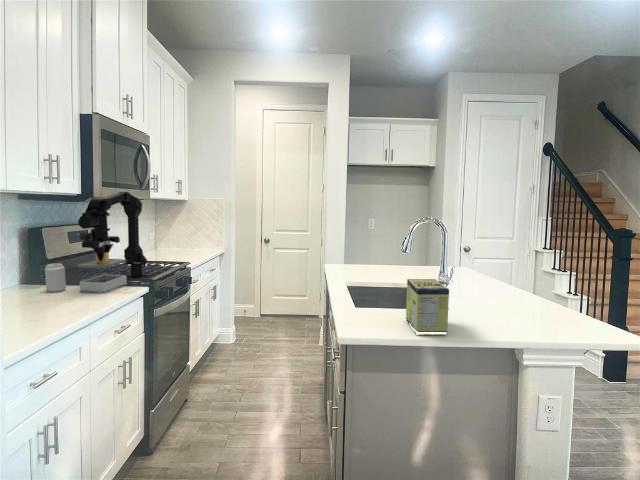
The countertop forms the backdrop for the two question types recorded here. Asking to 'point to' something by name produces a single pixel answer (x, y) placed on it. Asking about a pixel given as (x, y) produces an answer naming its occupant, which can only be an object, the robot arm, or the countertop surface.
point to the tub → (103, 283)
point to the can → (55, 277)
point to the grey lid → (102, 262)
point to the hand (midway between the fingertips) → (102, 260)
